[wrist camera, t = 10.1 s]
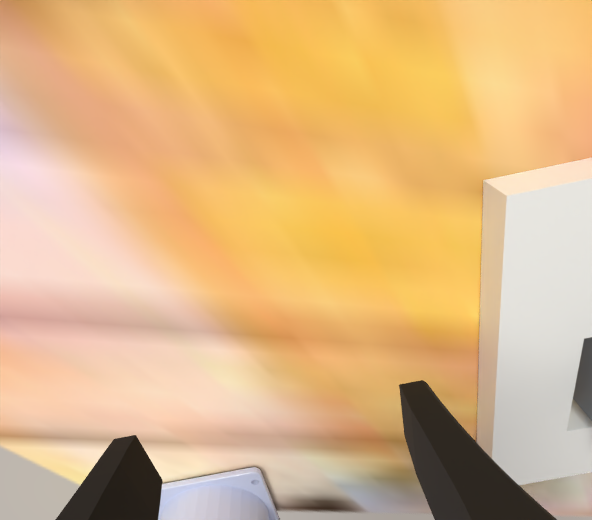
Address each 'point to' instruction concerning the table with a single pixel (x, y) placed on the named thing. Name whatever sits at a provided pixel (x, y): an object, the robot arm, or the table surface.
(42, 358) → the table surface
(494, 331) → the base plate
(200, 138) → the table surface
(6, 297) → the table surface
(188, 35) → the table surface
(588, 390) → the block
